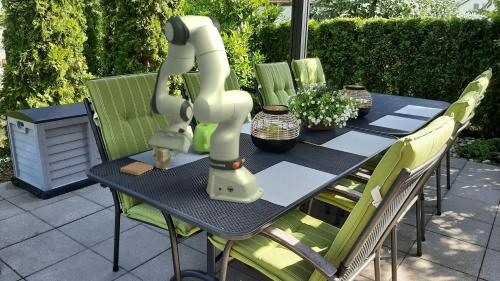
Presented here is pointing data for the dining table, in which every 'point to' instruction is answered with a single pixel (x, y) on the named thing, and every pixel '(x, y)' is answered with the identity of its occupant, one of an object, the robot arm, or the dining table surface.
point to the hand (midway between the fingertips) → (162, 158)
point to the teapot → (203, 137)
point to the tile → (137, 168)
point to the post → (162, 158)
